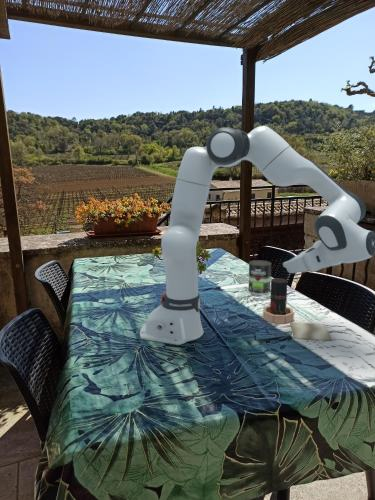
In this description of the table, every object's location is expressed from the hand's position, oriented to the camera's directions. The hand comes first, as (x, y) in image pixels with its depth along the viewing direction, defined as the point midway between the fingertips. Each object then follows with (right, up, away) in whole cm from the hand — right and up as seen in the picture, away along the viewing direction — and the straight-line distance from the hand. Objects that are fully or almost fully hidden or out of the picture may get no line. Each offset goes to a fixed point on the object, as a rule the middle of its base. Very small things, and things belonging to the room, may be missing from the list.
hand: (292, 259), depth 121 cm
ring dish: (-2, -23, +11) cm, 25 cm away
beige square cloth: (+6, -25, -2) cm, 26 cm away
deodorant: (-2, -23, +11) cm, 25 cm away
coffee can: (-3, -16, +40) cm, 44 cm away
